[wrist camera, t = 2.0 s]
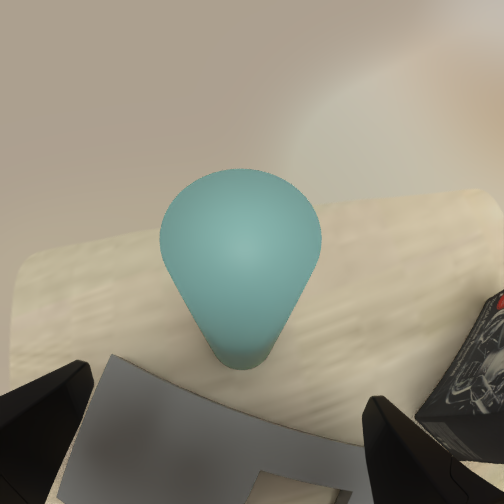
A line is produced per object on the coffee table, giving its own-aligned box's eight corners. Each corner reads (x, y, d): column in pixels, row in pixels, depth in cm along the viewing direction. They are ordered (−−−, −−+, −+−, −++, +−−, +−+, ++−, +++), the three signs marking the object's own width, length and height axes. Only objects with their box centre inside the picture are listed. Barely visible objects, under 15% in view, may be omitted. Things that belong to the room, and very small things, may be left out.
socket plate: (330, 582, 11) (337, 594, 9) (69, 492, 14) (56, 497, 12) (395, 452, 16) (408, 455, 15) (122, 358, 19) (111, 353, 17)
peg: (259, 378, 19) (293, 335, 6) (202, 356, 19) (131, 271, 7) (280, 323, 21) (336, 195, 8) (225, 303, 21) (202, 154, 9)
